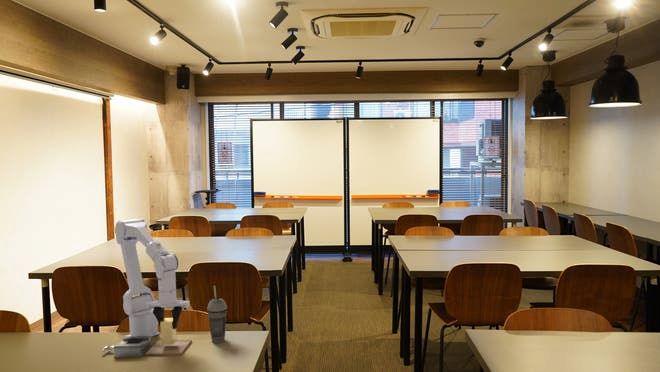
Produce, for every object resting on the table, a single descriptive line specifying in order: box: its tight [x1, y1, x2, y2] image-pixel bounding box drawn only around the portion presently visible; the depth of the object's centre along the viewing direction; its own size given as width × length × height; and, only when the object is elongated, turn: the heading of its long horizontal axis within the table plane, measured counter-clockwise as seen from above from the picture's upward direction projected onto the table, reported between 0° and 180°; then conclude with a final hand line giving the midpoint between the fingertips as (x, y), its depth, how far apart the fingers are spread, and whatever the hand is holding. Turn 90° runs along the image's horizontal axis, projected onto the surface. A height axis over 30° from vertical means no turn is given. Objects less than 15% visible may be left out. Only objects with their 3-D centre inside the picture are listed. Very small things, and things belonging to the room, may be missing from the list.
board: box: [144, 339, 193, 357], centre depth 165 cm, size 12×12×1 cm
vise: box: [101, 335, 152, 358], centre depth 162 cm, size 9×14×4 cm, turn 90°
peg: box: [160, 317, 178, 345], centre depth 164 cm, size 4×4×8 cm
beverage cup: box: [206, 285, 228, 344], centre depth 171 cm, size 7×7×20 cm
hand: (168, 328), depth 164 cm, fingers closed on peg, 4 cm apart
